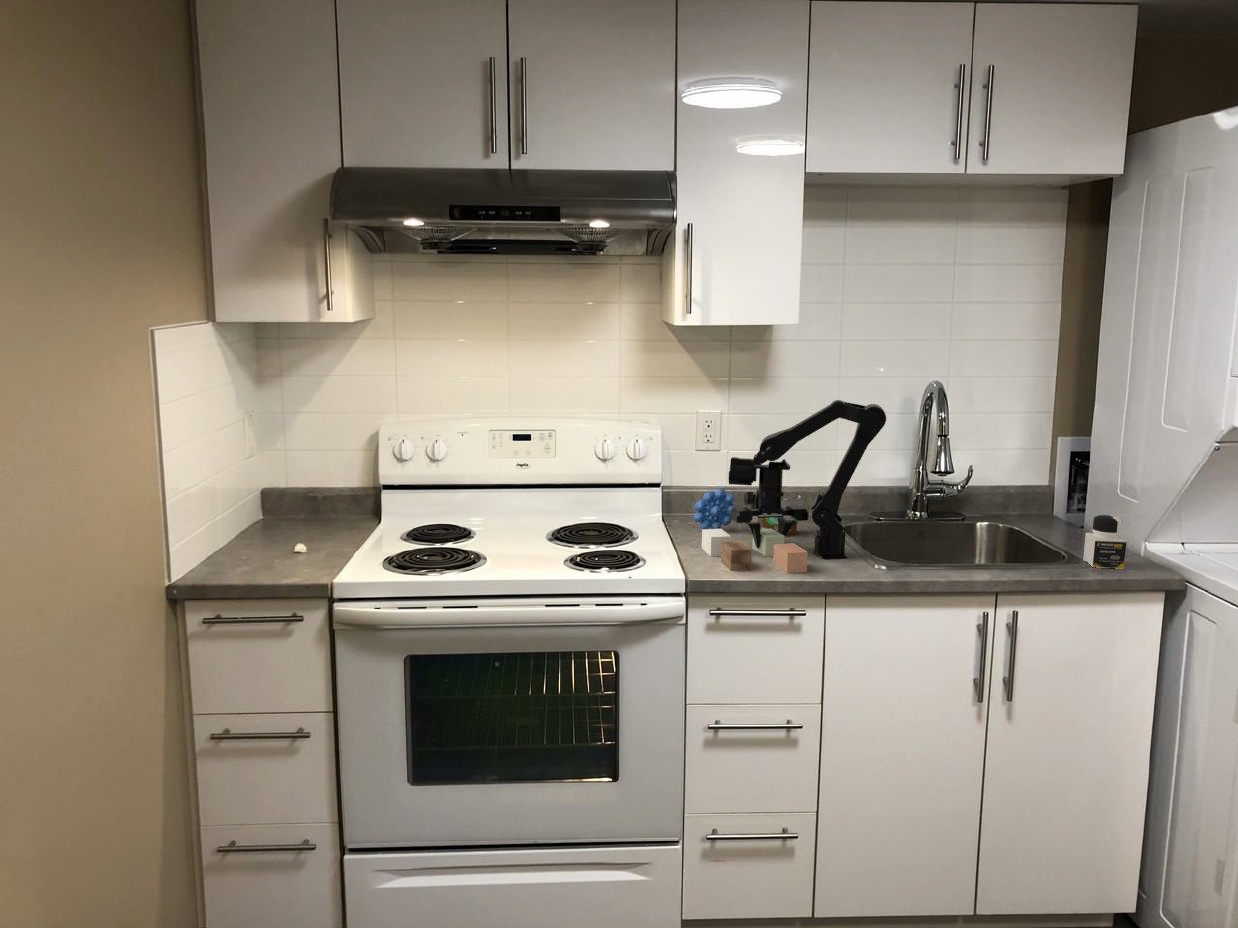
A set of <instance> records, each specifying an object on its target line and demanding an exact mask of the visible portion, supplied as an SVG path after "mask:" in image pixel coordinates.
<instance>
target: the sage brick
mask: <svg viewBox="0 0 1238 928" xmlns="http://www.w3.org/2000/svg"><path fill="white" fill-rule="evenodd" d="M785 538H786V536H784V535H782V534H780V533H778V532H777V531H775V530H773V529H762V528H760V546H759V548H757V547H756V545H755V541H754V538H753V537H752V546H751V547H752V548H751V549H753V550H755V551H756V552H758V553H759V554H760V555H762V556H764V557H774V544H785Z"/></svg>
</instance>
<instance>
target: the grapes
mask: <svg viewBox="0 0 1238 928" xmlns="http://www.w3.org/2000/svg"><path fill="white" fill-rule="evenodd" d="M702 499H703V500H702ZM702 499H699V500H698V501H696V503H695V505H694V509H695V510H696V511H697V512H695V514H694V515H693V521H694V522H695V523H700V524H699V528H700V530H701V531H702V529H722V527H723V526H728V525H730V524H731V523H732V521H733V520H732V519H731V518H730V512H731V510H732V508H733V507H738V506H737V504H736V503H734V501H735V495H734V494H733V493H731V492H729V493H728V492H727V493H726V490H725V489H724V488H721V487H720V488H717V489H715V492H713V491H711V490H708V491H705V493H704V494H703V497H702Z"/></svg>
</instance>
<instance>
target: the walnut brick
mask: <svg viewBox="0 0 1238 928" xmlns="http://www.w3.org/2000/svg"><path fill="white" fill-rule="evenodd" d="M752 549H753V548H751V547H749V546H748V545H747V544H745V542H743V541H740V540H739V541H731V542H721V556H720V562H721V563H722V564H723V565H724V566H725V567H726V568H727V569H728V570H729V571H731V572H732V571H733V572H734V571H735V572H737V571H751V570H752V558H753V557H752V552H753V550H752Z"/></svg>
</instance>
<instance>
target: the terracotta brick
mask: <svg viewBox="0 0 1238 928" xmlns="http://www.w3.org/2000/svg"><path fill="white" fill-rule="evenodd" d="M808 553H809V552H808V551H807V550H805V549H804V548H803V547H800V546H799V545H797V544H795V543H794V542H792V543H790V542H789V543H784V544H774V556H772V557H773V560H772V561H773V562H772V563H773V565H774V566H775V567H777V568H779V570H781V571H783V572H784V573H786V574H797V573H807V572H808V556H809V555H808Z"/></svg>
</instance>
